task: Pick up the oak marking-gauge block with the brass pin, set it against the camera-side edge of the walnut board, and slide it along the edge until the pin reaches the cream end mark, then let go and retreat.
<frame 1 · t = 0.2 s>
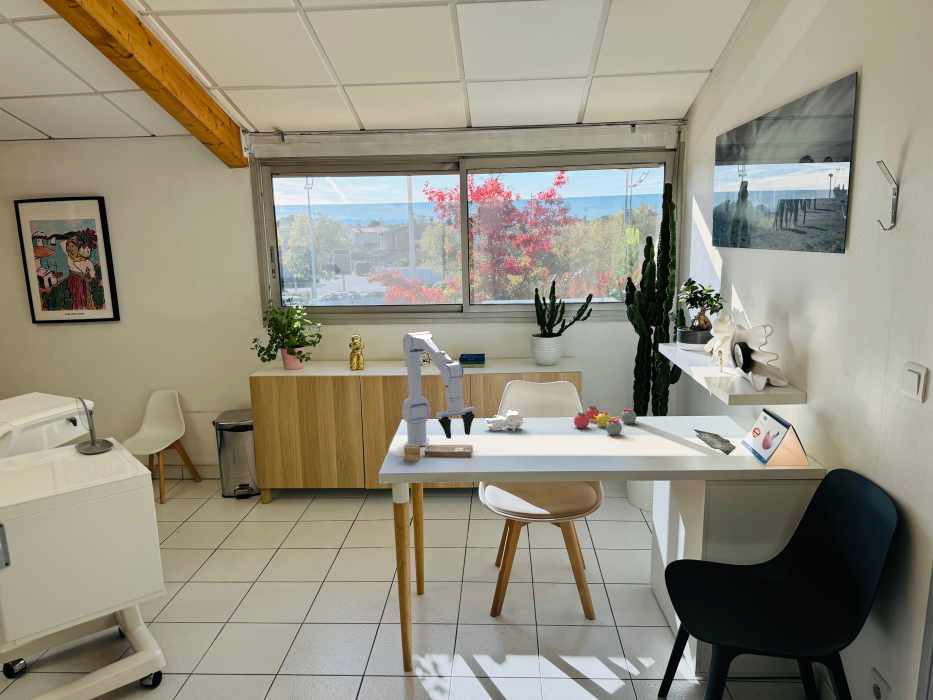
hand: (458, 436, 226), 10 cm above the table, tool pointing down, fingers open, 7 cm apart
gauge: (412, 459, 234), on the table
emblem: (716, 442, 249), on the table
figurine: (504, 429, 270), on the table
board: (448, 452, 241), on the table
molecule model: (603, 427, 272), on the table
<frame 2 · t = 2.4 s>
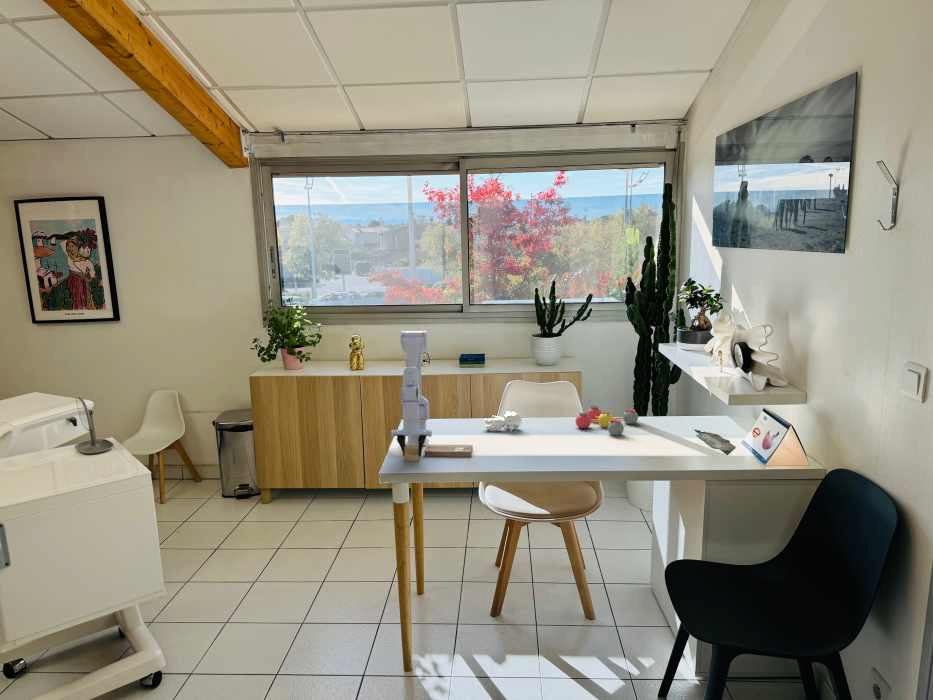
hand: (412, 455, 234), 1 cm above the table, tool pointing down, fingers closed on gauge, 5 cm apart
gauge: (412, 459, 234), on the table, touching gripper
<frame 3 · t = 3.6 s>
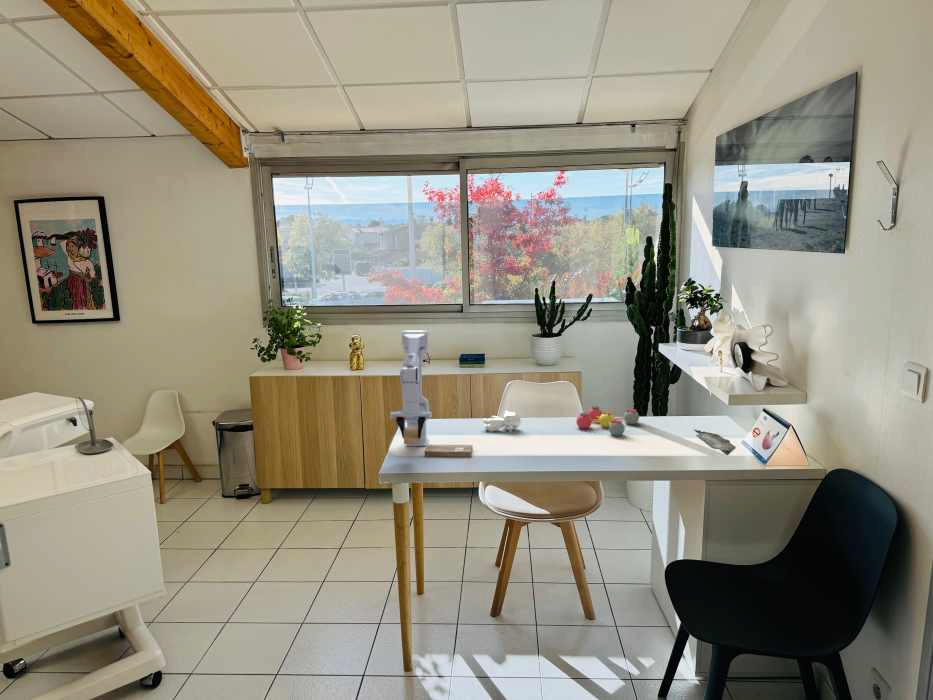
hand: (411, 437, 233), 8 cm above the table, tool pointing down, fingers closed on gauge, 5 cm apart
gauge: (411, 442, 233), point 6 cm above the table, touching gripper
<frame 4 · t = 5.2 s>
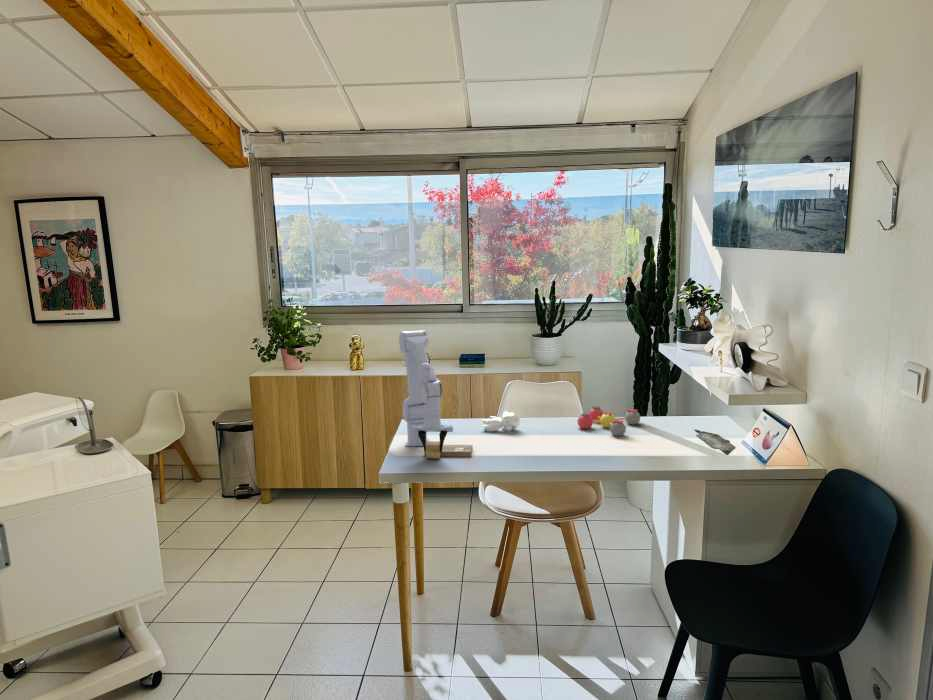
hand: (433, 450, 234), 3 cm above the table, tool pointing down, fingers closed on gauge, 5 cm apart
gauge: (433, 456, 235), point 1 cm above the table, touching gripper
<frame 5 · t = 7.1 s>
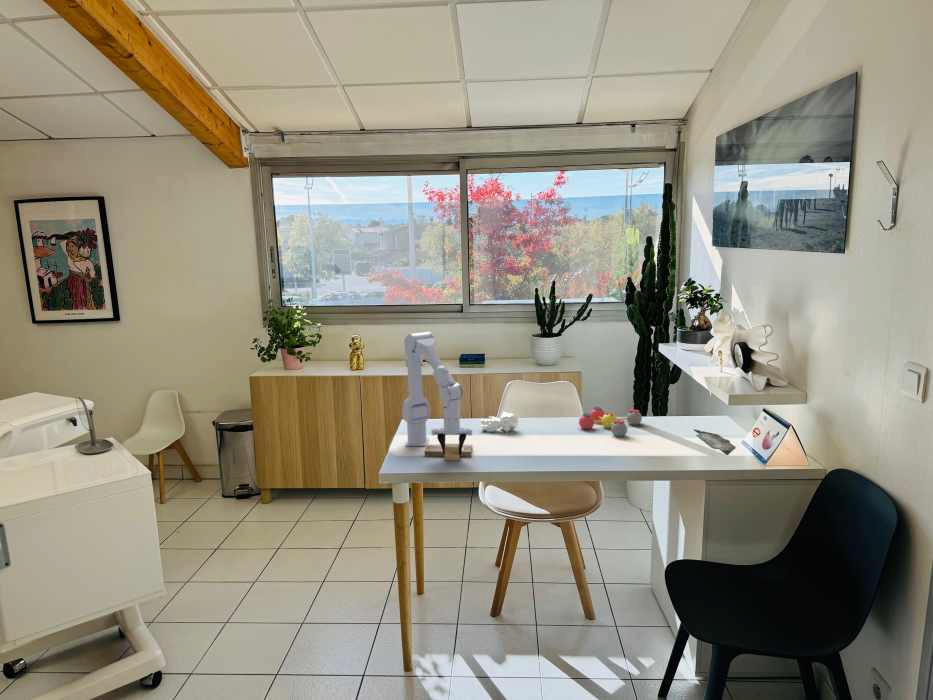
hand: (452, 454, 234), 2 cm above the table, tool pointing down, fingers closed on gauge, 5 cm apart
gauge: (452, 458, 234), on the table, touching gripper
when the fingers open (2 cm above the table, at t = 8.2 s): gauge stays where it is, on the table.
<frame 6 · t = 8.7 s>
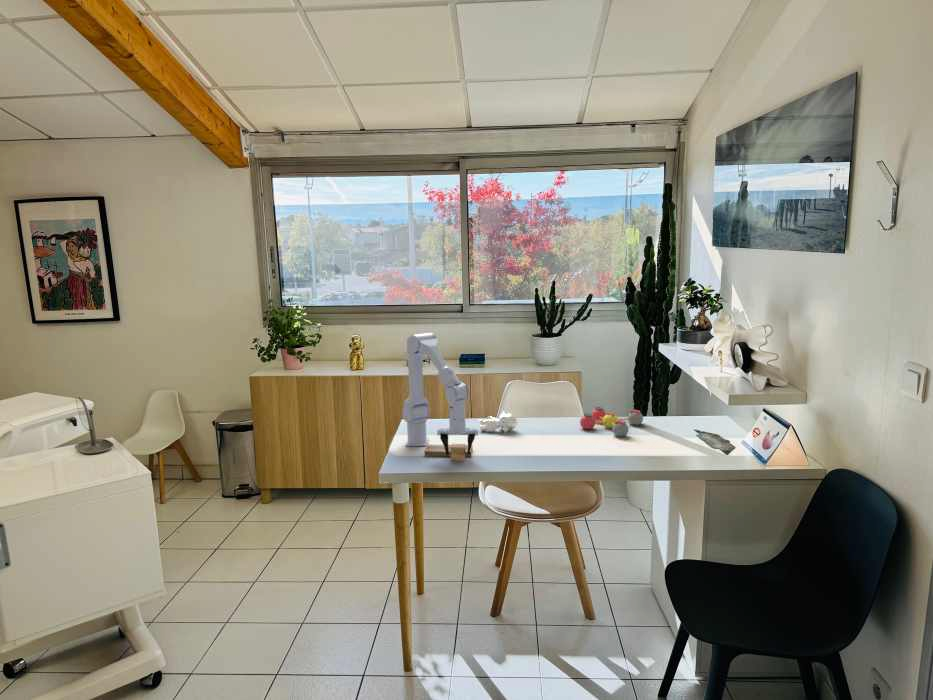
hand: (458, 454, 234), 2 cm above the table, tool pointing down, fingers open, 7 cm apart
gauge: (458, 458, 234), on the table
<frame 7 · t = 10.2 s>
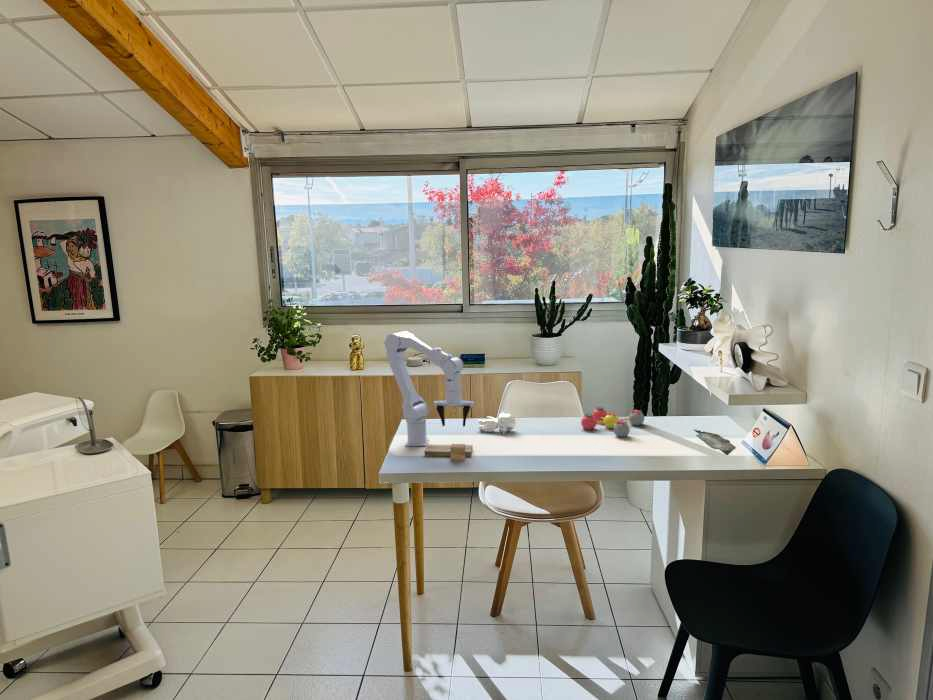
hand: (453, 425, 243), 9 cm above the table, tool pointing down, fingers open, 7 cm apart
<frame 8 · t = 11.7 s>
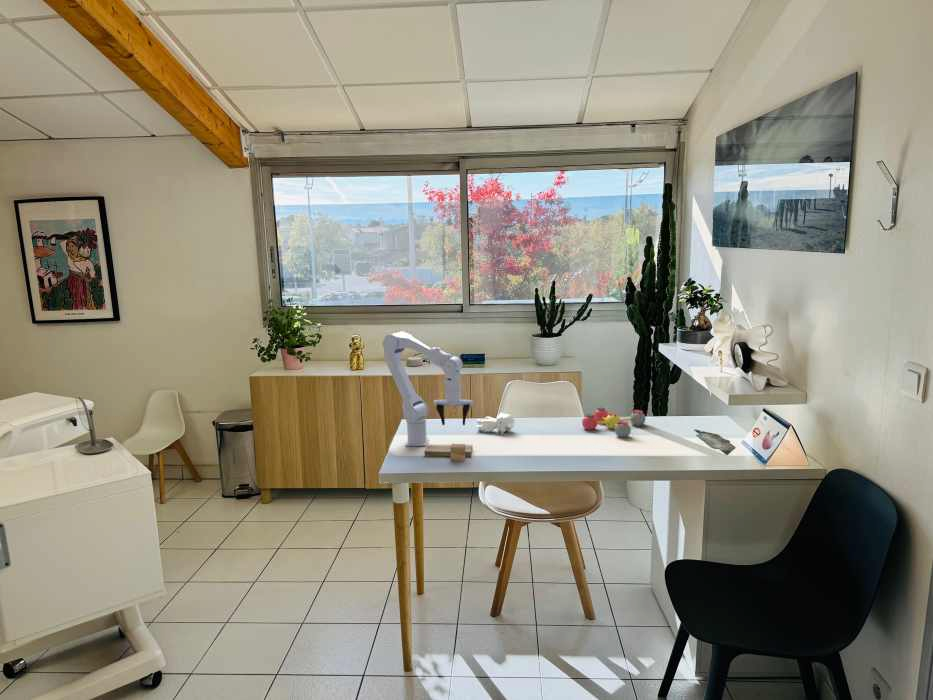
hand: (453, 424, 244), 9 cm above the table, tool pointing down, fingers open, 7 cm apart
at the end: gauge 0.2 cm from the target spot, on the table; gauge tilted 0°; the gripper is holding nothing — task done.
